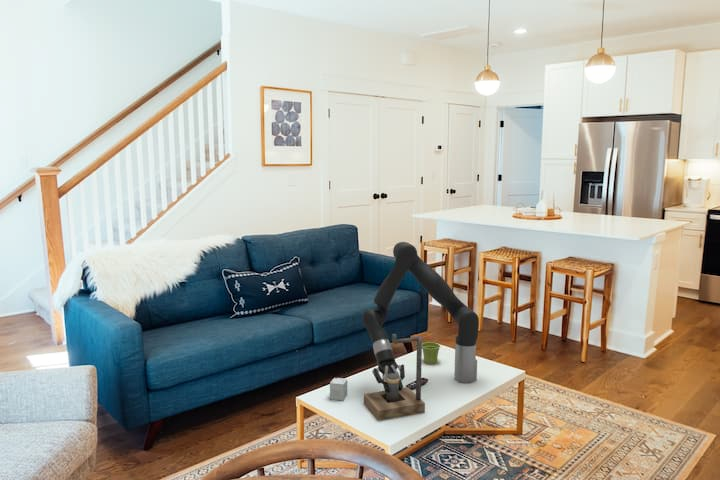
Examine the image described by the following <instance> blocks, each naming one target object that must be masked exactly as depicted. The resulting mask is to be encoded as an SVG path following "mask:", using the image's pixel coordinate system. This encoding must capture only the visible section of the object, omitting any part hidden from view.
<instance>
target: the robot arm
mask: <svg viewBox="0 0 720 480" xmlns="http://www.w3.org/2000/svg"><path fill="white" fill-rule="evenodd" d="M392 252H393V253H392V255H393V257H394V259H395V261H394V264H393V267H392V268H391V270H390V272H389V274H387V276H386V278H384V279H383V281H382V283H381V285H380V286H379V288H378V289H377V292H376V295H375V297H374V299H373V302H374V304H376V308H374V309H373V308H366V309H365V310H364V311H363V313H362V317H361V318H362V323H363V325H364V328H365V330H366V331H367V333H368V334H369V336H370V339H371V343H372V348H373V353H374V356H375V359H376V363H377V367H374V368H373V369H372V374H373V376H374V378H375V380H376V382H377V384H382V386H383V389H384V390H383V391H385V392H387V393H389V391H390V389H389V386H388V383H387V374H389V373H396V374H399V377H400V378H399V391H401V390H402V388H404V385H403V381H404V379H405V377H406V373H405V372H406V371H405V365H404V364H403V363H402V364H398V363H397V362H396V358H395V354H394V351H393V347H392V345H391V343H390V341H389V337H388V333H387V331H386V329H385V328H383V327H382V326H383V325H384V324H385V322H386V319H387V317H388V312H389V308H390V307H389V306H390V304H391V303H392V300H393V299H394V296H395V294H396V291H397V290H398V287H400V284H401V282H402V280H403V278H404V277H405V276H406V274H407V273H408V271H409V272H410V273H411V274H412V276H414V279H416V281H417V282H418V283H419V285H420V286H421V287H422V288H423V290H425V292H426V293H427V294H429V296H430V297H431V298H432V299H433V300H434V301H435V302H437V303H438V304H439V305H441V306H442V307H443V308H445V310H446V311H447V312H448V313H449V315H450V316H451V317H452V319H453V320H454V322H455V323H456V324H457V325H458V331H457V332H458V334H457V335H456V336H455V346H454V347H455V348H454V374H453V375H454V380H455V381H456V382H458V383H462V384H463V383H464V384H470V383H473V382H475V381H478V380H477V378H478V360H477V357H476V356H477V354H476V353H477V351H476V350H477V340H478V339H479V338H478V337H479V327H480V319H479V316H478V314H477V313H476V312H475V310H472V308H470V307H468V305H466V304H465V303H464V302H462V301H461V300H460V299H459V298H458V297H457V296H456V294H455V292H454V291H453V289H452V288H451V286H450V285H449V284H448V282H447V281H446V280H445V279H444V278H443V277H442V276H441V275H440V274H439V273H438V272H437V271H436V270H434V269H433V268H432V267H431V266H430V265H428V264H427V263H425V261H423V260H422V259H421V258H420V256H419V255H418V251H417V248H416V247H415V246H414V245H413V244H411V243H409V242H407V241H406V242H405V241H400V242H397V243H396V244H395V245H394V247H393V250H392ZM397 369H398V370H397ZM380 373H381V374H382V375H380Z"/></svg>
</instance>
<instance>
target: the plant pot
mask: <svg viewBox="0 0 720 480" xmlns="http://www.w3.org/2000/svg"><path fill="white" fill-rule="evenodd" d="M440 348H441V344H440V343H437V342H430V341H429V342H422V356H423V361H424V363H425V364H427V365H434V364H437V362H438V355H439V351H440Z"/></svg>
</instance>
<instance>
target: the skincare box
mask: <svg viewBox="0 0 720 480" xmlns="http://www.w3.org/2000/svg"><path fill="white" fill-rule="evenodd" d="M347 397H348V378H343V377H334V378H333V379H332V380H331V381H330V382H329V399H330V400H335V401H344V400H345V399H346V398H347Z"/></svg>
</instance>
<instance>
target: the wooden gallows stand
mask: <svg viewBox="0 0 720 480" xmlns="http://www.w3.org/2000/svg"><path fill="white" fill-rule="evenodd" d="M391 341H392V343H393V344H394V345H396V344H397V345H398V344H404V343H405V344H407V343H412V342H414V343H415V342H416V367H415V368H416V369H415V370H416V373H415V376H416V377H415V392H414V391H413V390H412V389H410V387H409V386H407V387H406V386H404V387H403V388H402V390H401V391H399V401H397V402H391V403H388V402H387V401H386V398H387V392H385V390H381V391H374V392H368V393H364V394H363V404H364V405H365V406H366V407H367V409H368V410H369V411H370V412H371V414H372V415H373V416H374V418H376V420H378V421H379V422H380V421H382V420H383V421H384V420H390V419H394V418H401V417H406V416H407V417H408V416H411V415H412V416H413V415H417V414H423V413H424V414H425V411H426V402H425V401H424V400H423V399H422V362H423V359H422V357H423V349H422V344H423V337H422V336H414V337H406V338H398V339H397V334H396V333H392V334H391Z"/></svg>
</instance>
